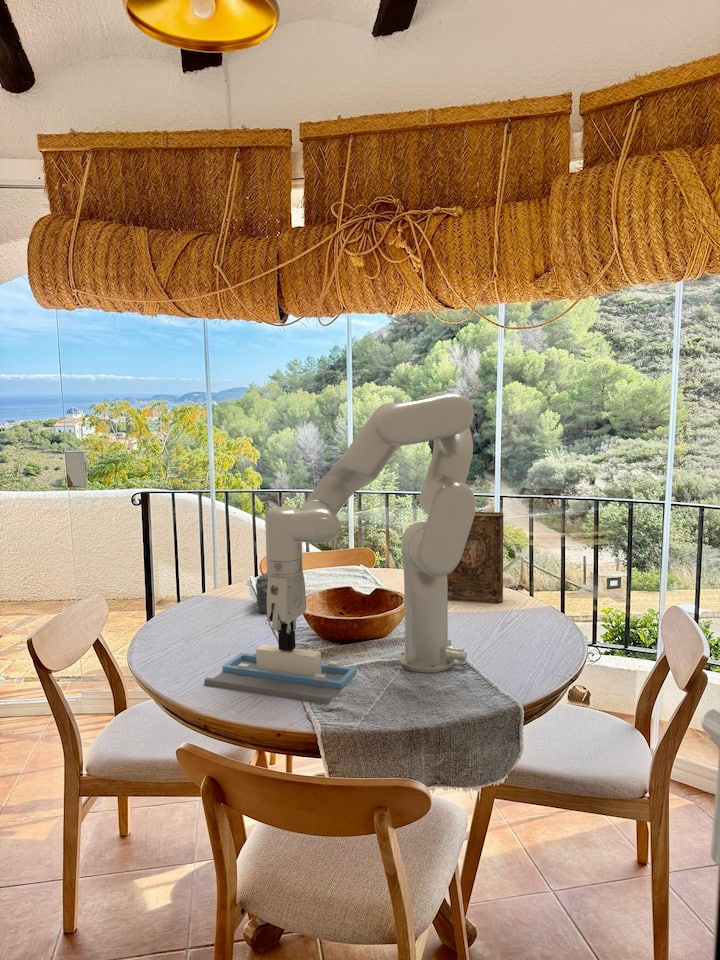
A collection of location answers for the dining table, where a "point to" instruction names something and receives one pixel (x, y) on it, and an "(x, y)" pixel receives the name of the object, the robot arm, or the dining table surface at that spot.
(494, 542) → the book
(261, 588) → the stone
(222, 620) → the dining table surface
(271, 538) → the robot arm
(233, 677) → the board
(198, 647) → the dining table surface
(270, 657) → the bar
